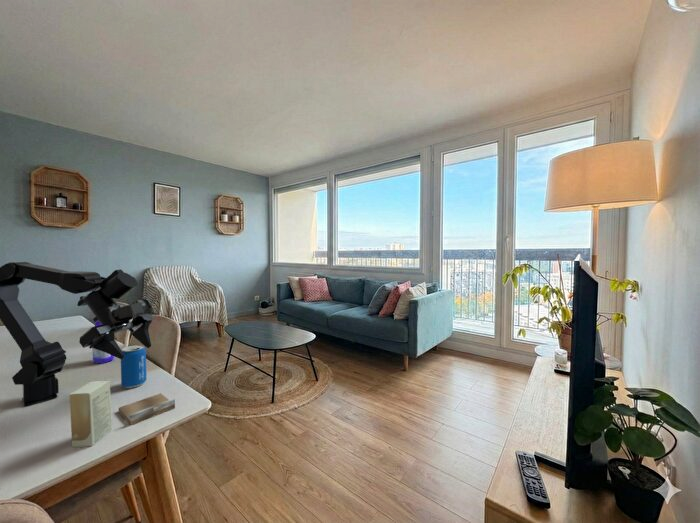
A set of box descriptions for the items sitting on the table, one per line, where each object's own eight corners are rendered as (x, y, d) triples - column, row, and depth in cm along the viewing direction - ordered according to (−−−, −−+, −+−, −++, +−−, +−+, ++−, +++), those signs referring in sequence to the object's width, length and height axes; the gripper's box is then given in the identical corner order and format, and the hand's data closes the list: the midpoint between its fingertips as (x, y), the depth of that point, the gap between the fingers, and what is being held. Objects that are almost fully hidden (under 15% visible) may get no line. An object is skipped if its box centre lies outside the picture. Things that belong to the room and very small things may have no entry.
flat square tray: (131, 425, 71) (130, 416, 71) (118, 411, 77) (118, 402, 77) (175, 408, 79) (175, 399, 79) (160, 396, 85) (160, 388, 85)
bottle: (89, 362, 111) (87, 317, 110) (106, 357, 116) (105, 314, 115) (100, 365, 108) (99, 319, 107) (117, 359, 113) (116, 316, 112)
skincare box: (93, 430, 69) (92, 380, 69) (112, 429, 69) (111, 379, 69) (69, 448, 63) (68, 393, 62) (91, 447, 63) (89, 392, 63)
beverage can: (133, 390, 89) (132, 352, 88) (116, 388, 90) (115, 350, 89) (151, 381, 95) (150, 345, 95) (135, 379, 96) (134, 343, 96)
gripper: (93, 296, 73) (129, 346, 72) (151, 288, 91) (180, 327, 91) (63, 322, 74) (97, 371, 73) (126, 309, 92) (154, 348, 92)
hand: (137, 352), depth 82 cm, fingers open, 9 cm apart
